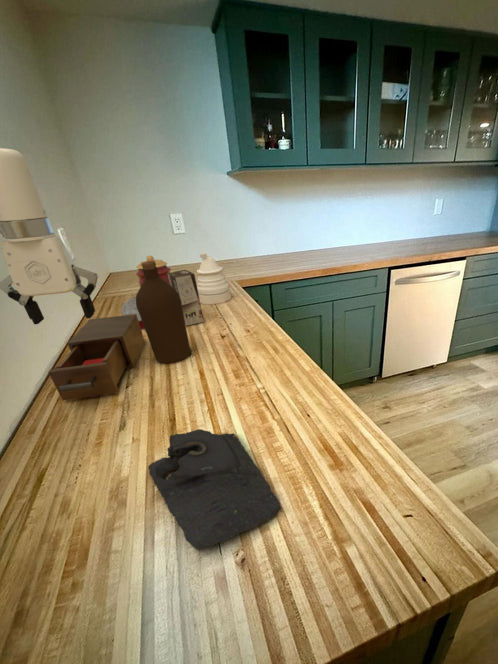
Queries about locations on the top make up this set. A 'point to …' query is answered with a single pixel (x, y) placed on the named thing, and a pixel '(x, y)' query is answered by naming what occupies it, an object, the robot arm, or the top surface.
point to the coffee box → (187, 295)
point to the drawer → (90, 370)
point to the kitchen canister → (160, 266)
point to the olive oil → (162, 316)
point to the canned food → (131, 310)
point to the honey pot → (212, 282)
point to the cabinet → (113, 335)
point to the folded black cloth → (212, 487)
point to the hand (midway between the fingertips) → (65, 319)
